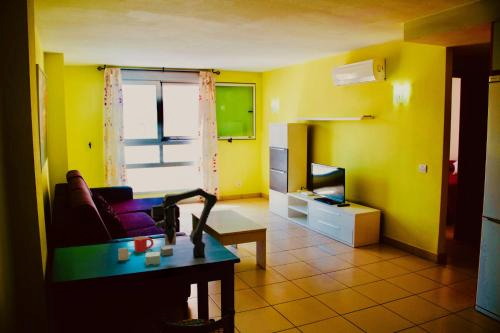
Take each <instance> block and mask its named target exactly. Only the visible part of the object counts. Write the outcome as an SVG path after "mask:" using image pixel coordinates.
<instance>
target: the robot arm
mask: <svg viewBox="0 0 500 333" xmlns="http://www.w3.org/2000/svg"><path fill="white" fill-rule="evenodd" d="M199 196H201V197H202V198H203V199H204V202H203V208H202V211H201V214H200V217H199V220H198V222H197V225H196V228H195V229H194V230H191V231H190V234H189V241H190V242H191V243H192V244H193V248H192V256H193V258H194V259H198V258H199V259H201V258H206V255H205V254H206V252H205V251H206V250H205V248H206V243H205V242H204V241H203V236H204V234H203V232H204V229H205V228H206V225H207V221H208V219H209V216H210V213H211V210H212V209H213V208H214V207H215V205H216V203H217V202H218V197H217V196H216V195H215V194H213V193H212V192H211V193H210V192H207V191H206V190H204V189H203V188H201V187H197V188H194V189H191V190H187V191H184V192H180V193H167V194H165V195H164V197H163V200H162V201H161V203H160V204H158V205H151V210H150V211H151V212H150V213H151V218H163V216H164V219H162V220H160V221H157V222H156V223H155V224H154V226H155V228H156V230H160V229H163V228H164V230H163V234H164V236H165V235H167V236H168V240H169V244H171V243H172V240H173V238H174V235H175V232H176V229H177V222H176V212H175V211H176V209H178V208H179V206H177V205H176V204H177V203H179V202H180V201H183V200H187V199H191V198H195V197H199Z"/></svg>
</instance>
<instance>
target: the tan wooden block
mask: <svg viewBox="0 0 500 333" xmlns="http://www.w3.org/2000/svg"><path fill="white" fill-rule="evenodd" d="M160 255H162V256H164V255H166V256H170V255H174V248H173V247H172V245H167V246H165V245H164V246H161V247H160ZM164 257H165V256H164Z"/></svg>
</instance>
